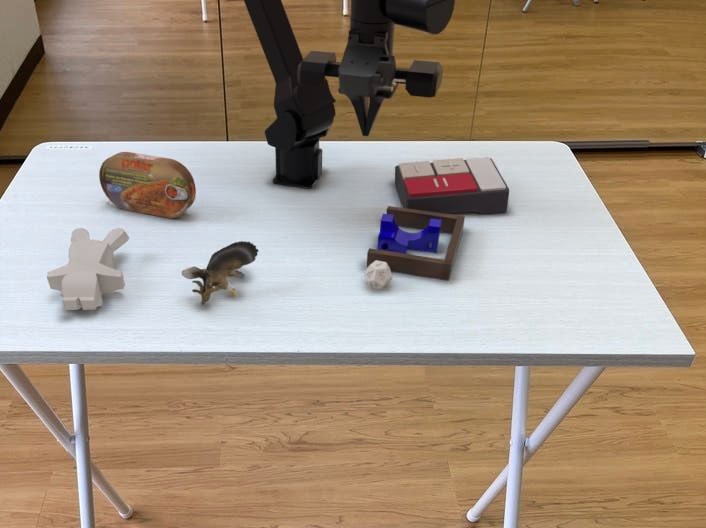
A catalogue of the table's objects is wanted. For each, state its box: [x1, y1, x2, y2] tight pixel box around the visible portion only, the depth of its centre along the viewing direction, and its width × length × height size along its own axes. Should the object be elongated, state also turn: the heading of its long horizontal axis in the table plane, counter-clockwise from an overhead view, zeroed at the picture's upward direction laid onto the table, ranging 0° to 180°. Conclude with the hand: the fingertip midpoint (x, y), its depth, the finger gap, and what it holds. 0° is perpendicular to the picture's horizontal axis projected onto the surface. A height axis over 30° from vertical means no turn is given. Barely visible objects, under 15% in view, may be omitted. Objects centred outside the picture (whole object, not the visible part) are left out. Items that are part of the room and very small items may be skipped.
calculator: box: [394, 156, 510, 215], centre depth 117 cm, size 11×4×15 cm
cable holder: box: [376, 213, 442, 254], centre depth 106 cm, size 8×4×4 cm, turn 76°
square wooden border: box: [366, 205, 466, 282], centre depth 106 cm, size 11×13×2 cm
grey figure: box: [46, 227, 130, 311], centre depth 100 cm, size 10×5×15 cm
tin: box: [98, 151, 197, 219], centre depth 114 cm, size 15×3×8 cm, turn 68°
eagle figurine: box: [180, 240, 259, 306], centre depth 98 cm, size 8×7×9 cm
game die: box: [363, 260, 393, 290], centre depth 100 cm, size 4×4×3 cm
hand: (366, 135), depth 109 cm, fingers closed
